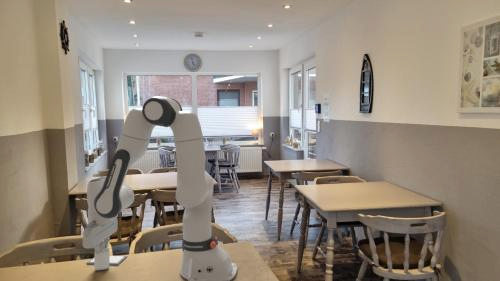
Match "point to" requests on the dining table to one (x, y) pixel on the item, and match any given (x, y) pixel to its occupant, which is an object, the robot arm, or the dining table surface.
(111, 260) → the paper
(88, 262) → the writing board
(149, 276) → the dining table surface
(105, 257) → the eye dropper bottle
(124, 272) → the dining table surface
